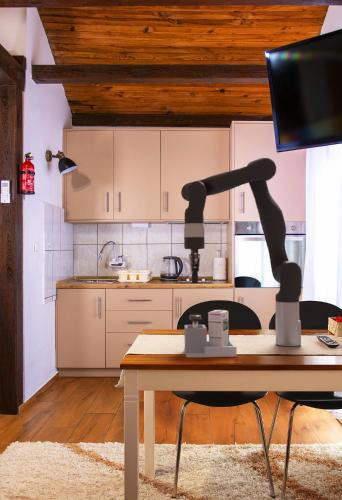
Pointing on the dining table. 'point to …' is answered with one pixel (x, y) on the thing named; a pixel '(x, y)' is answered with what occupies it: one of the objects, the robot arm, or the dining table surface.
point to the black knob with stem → (195, 320)
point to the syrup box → (218, 328)
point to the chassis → (204, 344)
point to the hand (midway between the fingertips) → (194, 283)
